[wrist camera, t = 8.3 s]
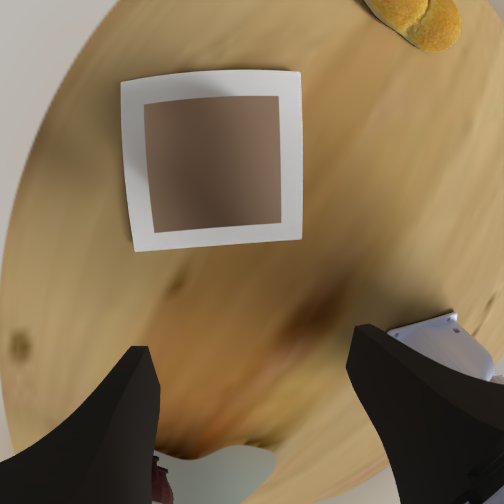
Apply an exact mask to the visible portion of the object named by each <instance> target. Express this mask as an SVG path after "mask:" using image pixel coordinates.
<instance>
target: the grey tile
mask: <svg viewBox="0 0 504 504" xmlns="http://www.w3.org/2000/svg"><path fill="white" fill-rule="evenodd" d="M223 96H279V119H280V155H281V223H274V224H259V225H245V226H232V227H219V228H206V229H194V230H183V231H172V232H161V233H154V227H153V219H152V211H151V202H150V193H149V183H148V172H147V160H146V146H145V127H144V104H151V103H158V102H165V101H174V100H183V99H193V98H206V97H223ZM121 129H122V148H123V162H124V174H125V184H126V193H127V202H128V210H129V217H130V224H131V231H132V237H133V243H134V249H135V252H142V251H154V250H166V249H179V248H191V247H204V246H217V245H230V244H243V243H257V242H271V241H284V240H299V239H302V213H303V132H302V97H301V74H300V72H293V71H276V70H216V71H199V72H187V73H177V74H168V75H160V76H153V77H147V78H141V79H135V80H129V81H124V82H121Z"/></svg>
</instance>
